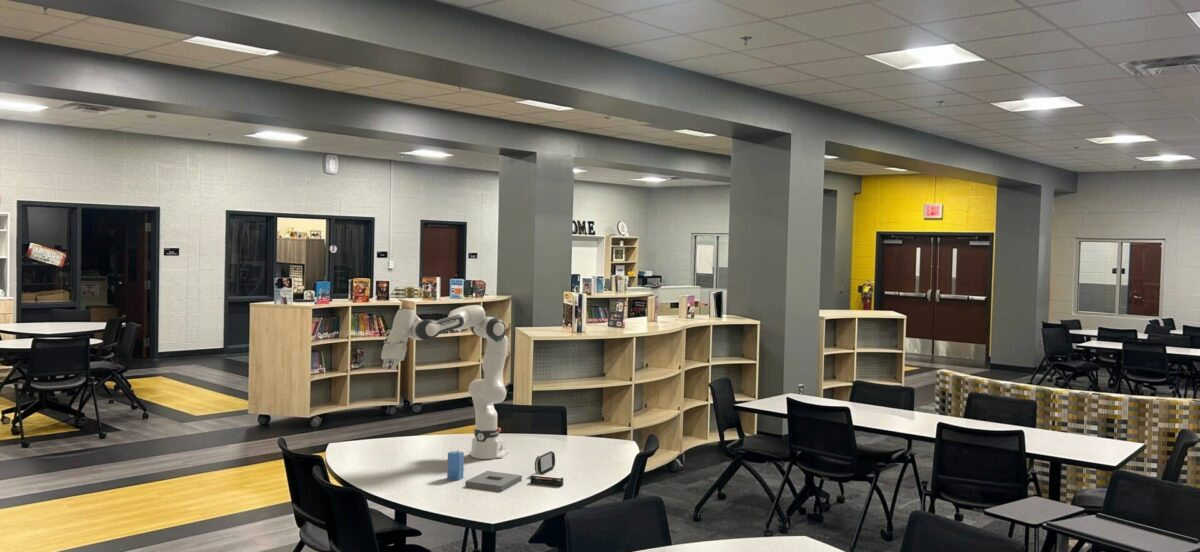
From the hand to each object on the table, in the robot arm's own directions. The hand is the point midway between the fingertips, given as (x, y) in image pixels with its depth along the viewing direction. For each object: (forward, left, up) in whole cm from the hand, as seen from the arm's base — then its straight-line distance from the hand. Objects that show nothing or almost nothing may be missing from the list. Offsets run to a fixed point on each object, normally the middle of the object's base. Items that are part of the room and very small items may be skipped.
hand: (388, 369), depth 387 cm
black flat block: (-14, +77, -49) cm, 93 cm away
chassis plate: (-5, +54, -48) cm, 72 cm away
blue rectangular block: (-5, +34, -48) cm, 59 cm away
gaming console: (-34, +66, -49) cm, 89 cm away
